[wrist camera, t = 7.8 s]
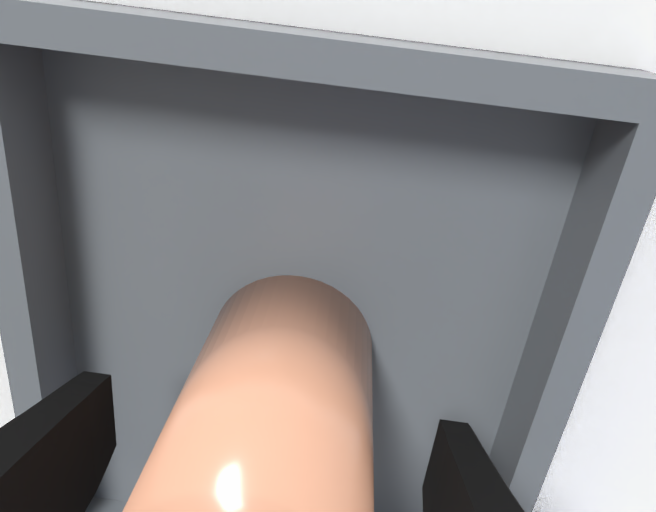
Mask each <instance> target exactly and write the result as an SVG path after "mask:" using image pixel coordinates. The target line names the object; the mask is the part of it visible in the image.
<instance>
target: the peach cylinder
mask: <svg viewBox="0 0 656 512" xmlns="http://www.w3.org/2000/svg"><path fill="white" fill-rule="evenodd" d="M122 512H374V463H373V381H372V339H371V334H370V330H369V327H368V325H367V322H366V320H365V318H364V317H363V315H362V313H361V312H360V311H359V309H358V308H357V306H356V305H355V304H354V303H353V302H352V301H351V300H350V299H349V298H348V297H346V296H345V295H344V294H343V293H341V292H340V291H338V290H337V289H335V288H334V287H332V286H330V285H328V284H325V283H323V282H321V281H318V280H315V279H312V278H307V277H302V276H292V275H282V276H273V277H267V278H264V279H260V280H257V281H255V282H252V283H250V284H248V285H246V286H244V287H243V288H241V289H240V290H238V291H237V292H236V293H235V294H233V295H232V296H231V297H230V298H229V299H228V301H227V302H226V303H225V304H224V306H223V307H222V309H221V310H220V312H219V315H218V317H217V319H216V321H215V323H214V325H213V327H212V329H211V331H210V333H209V335H208V337H207V339H206V341H205V343H204V345H203V347H202V349H201V351H200V353H199V356H198V358H197V360H196V362H195V364H194V366H193V368H192V370H191V372H190V374H189V376H188V378H187V380H186V382H185V384H184V386H183V388H182V390H181V392H180V395H179V397H178V399H177V401H176V403H175V405H174V407H173V409H172V411H171V413H170V415H169V417H168V419H167V421H166V423H165V425H164V427H163V429H162V431H161V433H160V436H159V438H158V440H157V442H156V444H155V446H154V448H153V450H152V452H151V454H150V456H149V458H148V460H147V462H146V464H145V466H144V468H143V470H142V472H141V474H140V477H139V479H138V481H137V483H136V485H135V487H134V489H133V491H132V493H131V495H130V497H129V499H128V501H127V503H126V505H125V507H124V509H123V511H122Z"/></svg>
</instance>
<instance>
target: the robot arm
mask: <svg viewBox="0 0 656 512" xmlns="http://www.w3.org/2000/svg"><path fill="white" fill-rule="evenodd" d="M116 445H117V444H116V431H115V418H114V405H113V392H112V379H111V375H109V374H102V373H95V372H87V371H83V372H82V373H80V374H79V375H77V376H76V377H74V378H73V379H71V380H70V381H68V382H67V383H65V384H64V385H62V386H61V387H60V388H58V389H57V390H55V391H54V392H52V393H51V394H49V395H48V396H47V397H45V398H44V399H42V400H41V401H39V402H38V403H36V404H35V405H34V406H32V407H31V408H29V409H28V410H26V411H25V412H23V413H22V414H20V415H19V416H17V417H16V418H14V419H13V420H11V421H10V422H8V423H7V424H5V425H4V426H2V427H1V428H0V512H85V511H86V509H87V507H88V505H89V504H90V502H91V500H92V498H93V497H94V495H95V493H96V491H97V489H98V487H99V485H100V483H101V481H102V478H103V476H104V474H105V472H106V469H107V467H108V465H109V462H110V460H111V457H112V455H113V453H114V450H115V448H116ZM422 497H423V512H525V511H524V510H523V508H522V507H521V505H520V504H519V502H518V501H517V499H516V498H515V496H514V495H513V494H512V492H511V491H510V489H509V488H508V486H507V485H506V483H505V481H504V480H503V478H502V477H501V475H500V474H499V472H498V470H497V469H496V467H495V466H494V464H493V462H492V461H491V459H490V458H489V456H488V454H487V453H486V451H485V449H484V448H483V446H482V444H481V443H480V441H479V439H478V438H477V436H476V434H475V433H474V431H473V429H472V428H471V426H470V425H469V424H468V423H465V422H457V421H450V420H442V419H440V420H439V424H438V428H437V432H436V436H435V440H434V444H433V447H432V451H431V455H430V459H429V463H428V467H427V471H426V474H425V478H424V482H423V486H422Z"/></svg>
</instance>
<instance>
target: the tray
mask: <svg viewBox="0 0 656 512" xmlns="http://www.w3.org/2000/svg"><path fill="white" fill-rule="evenodd" d="M655 197H656V73H652V72H648V71H644V70H640V69H633V68H625V67H617V66H609V65H601V64H593V63H584V62H576V61H568V60H560V59H552V58H544V57H536V56H528V55H520V54H512V53H504V52H496V51H488V50H480V49H472V48H464V47H456V46H448V45H440V44H432V43H423V42H415V41H407V40H399V39H391V38H383V37H375V36H367V35H359V34H351V33H343V32H335V31H327V30H319V29H311V28H303V27H295V26H287V25H279V24H271V23H262V22H254V21H246V20H238V19H230V18H222V17H214V16H206V15H198V14H190V13H182V12H174V11H166V10H158V9H150V8H142V7H134V6H126V5H118V4H109V3H101V2H93V1H85V0H0V334H1V340H2V346H3V351H4V357H5V362H6V368H7V374H8V379H9V385H10V390H11V396H12V401H13V407H14V413H15V418H16V417H17V416H19V415H20V414H22V413H23V412H25V411H26V410H28V409H29V408H31V407H32V406H34V405H35V404H36V403H38V402H39V401H41V400H42V399H44V398H45V397H47V396H48V395H49V394H51V393H52V392H54V391H55V390H57V389H58V388H60V387H61V386H62V385H64V384H65V383H67V382H68V381H70V380H71V379H73V378H74V377H76V376H77V375H79V374H80V373H82V372H83V371H87V372H95V373H102V374H109V375H111V379H112V392H113V405H114V418H115V431H116V444H117V445H116V448H115V450H114V453H113V455H112V457H111V460H110V462H109V465H108V467H107V469H106V472H105V474H104V476H103V478H102V481H101V483H100V485H99V487H98V489H97V491H96V493H95V495H94V497H93V498H92V500H91V502H90V504H89V505H88V507H87V509H86V511H85V512H122V511H123V509H124V507H125V505H126V503H127V501H128V499H129V497H130V495H131V493H132V491H133V489H134V487H135V485H136V483H137V481H138V479H139V477H140V474H141V472H142V470H143V468H144V466H145V464H146V462H147V460H148V458H149V456H150V454H151V452H152V450H153V448H154V446H155V444H156V442H157V440H158V438H159V436H160V433H161V431H162V429H163V427H164V425H165V423H166V421H167V419H168V417H169V415H170V413H171V411H172V409H173V407H174V405H175V403H176V401H177V399H178V397H179V395H180V392H181V390H182V388H183V386H184V384H185V382H186V380H187V378H188V376H189V374H190V372H191V370H192V368H193V366H194V364H195V362H196V360H197V358H198V356H199V353H200V351H201V349H202V347H203V345H204V343H205V341H206V339H207V337H208V335H209V333H210V331H211V329H212V327H213V325H214V323H215V321H216V319H217V317H218V315H219V312H220V310H221V309H222V307H223V306H224V304H225V303H226V302H227V301H228V299H229V298H230V297H231V296H232V295H233V294H235V293H236V292H237V291H238V290H240V289H241V288H243V287H244V286H246V285H248V284H250V283H252V282H255V281H257V280H260V279H264V278H267V277H273V276H282V275H292V276H302V277H307V278H312V279H315V280H318V281H321V282H323V283H325V284H328V285H330V286H332V287H334V288H335V289H337V290H338V291H340V292H341V293H343V294H344V295H345V296H346V297H348V298H349V299H350V300H351V301H352V302H353V303H354V304H355V305H356V306H357V308H358V309H359V311H360V312H361V313H362V315H363V317H364V318H365V320H366V322H367V325H368V327H369V330H370V334H371V339H372V381H373V463H374V512H423V497H422V486H423V482H424V478H425V474H426V471H427V467H428V463H429V459H430V455H431V451H432V447H433V444H434V440H435V436H436V432H437V428H438V424H439V420H440V419H442V420H450V421H457V422H465V423H468V424H469V425H470V426H471V428H472V429H473V431H474V433H475V434H476V436H477V438H478V439H479V441H480V443H481V444H482V446H483V448H484V449H485V451H486V453H487V454H488V456H489V458H490V459H491V461H492V462H493V464H494V466H495V467H496V469H497V470H498V472H499V474H500V475H501V477H502V478H503V480H504V481H505V483H506V485H507V486H508V488H509V489H510V491H511V492H512V494H513V495H514V496H515V498H516V499H517V501H518V502H519V504H520V505H521V507H522V508H523V510H524V511H525V512H532V510H533V508H534V505H535V503H536V500H537V498H538V495H539V492H540V490H541V487H542V485H543V482H544V480H545V477H546V475H547V472H548V469H549V467H550V464H551V462H552V459H553V457H554V454H555V452H556V449H557V447H558V444H559V441H560V439H561V436H562V434H563V431H564V429H565V426H566V424H567V421H568V418H569V416H570V413H571V411H572V408H573V406H574V403H575V401H576V398H577V396H578V393H579V390H580V388H581V385H582V383H583V380H584V378H585V375H586V373H587V370H588V367H589V365H590V362H591V360H592V357H593V355H594V352H595V350H596V347H597V345H598V342H599V339H600V337H601V334H602V332H603V329H604V327H605V324H606V322H607V319H608V316H609V314H610V311H611V309H612V306H613V304H614V301H615V299H616V296H617V294H618V291H619V288H620V286H621V283H622V281H623V278H624V276H625V273H626V271H627V268H628V266H629V263H630V260H631V258H632V255H633V253H634V250H635V248H636V245H637V243H638V240H639V237H640V235H641V232H642V230H643V227H644V225H645V222H646V220H647V217H648V215H649V212H650V209H651V207H652V204H653V202H654V199H655Z"/></svg>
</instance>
